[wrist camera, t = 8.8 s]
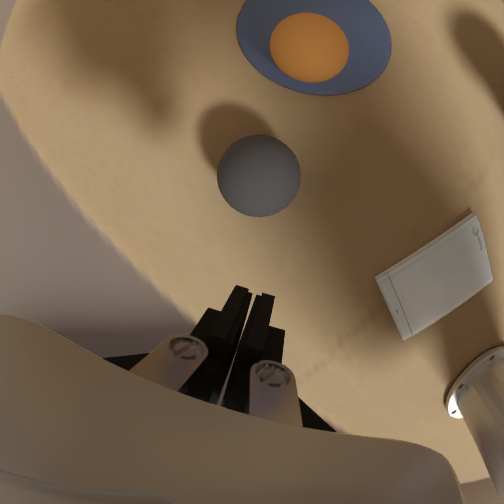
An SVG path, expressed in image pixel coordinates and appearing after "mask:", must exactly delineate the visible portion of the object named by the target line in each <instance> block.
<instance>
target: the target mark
mask: <svg viewBox="0 0 504 504" xmlns="http://www.w3.org/2000/svg"><path fill="white" fill-rule="evenodd" d="M298 13H315V14H319V15H322V16H325V17H327V18H329V19H331V20H332V21H333V22H335V23H336V24H337V25H338V26H339V27H340V28H341V29H342V31H343V32H344V34H345V36H346V38H347V40H348V44H349V56H348V60H347V63H346V65H345V66H344V68H343V69H342V70H341V71H340V72H339V73H338V74H337V75H336V76H334V77H333V78H331V79H328V80H326V81H322V82H314V83H310V82H303V81H299V80H296V79H294V78H292V77H290V76H288V75H287V74H285V73H284V72H283V71H282V70H281V69H280V68H279V67H278V66H277V65H276V63H275V62H274V60H273V58H272V55H271V52H270V38H271V35H272V32H273V30H274V29H275V27H276V26H277V25H278V24H279V23H280V22H281V21H282V20H284V19H285V18H287V17H289V16H291V15H294V14H298ZM237 37H238V40H239V44H240V46H241V49H242V51H243V53H244V55H245V56H246V58H247V59H248V61H249V62H250V63H251V64H252V65H253V66H254V67H255V68H256V69H257V70H258V71H259V72H260V73H261V74H263V75H264V76H266V77H267V78H268V79H270V80H272V81H274V82H275V83H277V84H279V85H281V86H284V87H286V88H289V89H292V90H295V91H298V92H302V93H307V94H314V95H338V94H345V93H349V92H353V91H356V90H358V89H361V88H363V87H365V86H366V85H368V84H370V83H371V82H372V81H374V80H375V79H376V78H377V77H378V76H379V75H380V74H381V73H382V72H383V70H384V69H385V67H386V65H387V63H388V61H389V58H390V53H391V37H390V33H389V29H388V27H387V24H386V22H385V20H384V19H383V17H382V15H381V14H380V13H379V11H378V10H377V9H376V7H375V6H374V5H373V4H372V3H371V2H370V1H369V0H247V1H246V3H245V4H244V6H243V7H242V9H241V12H240V14H239V17H238V21H237Z"/></svg>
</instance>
